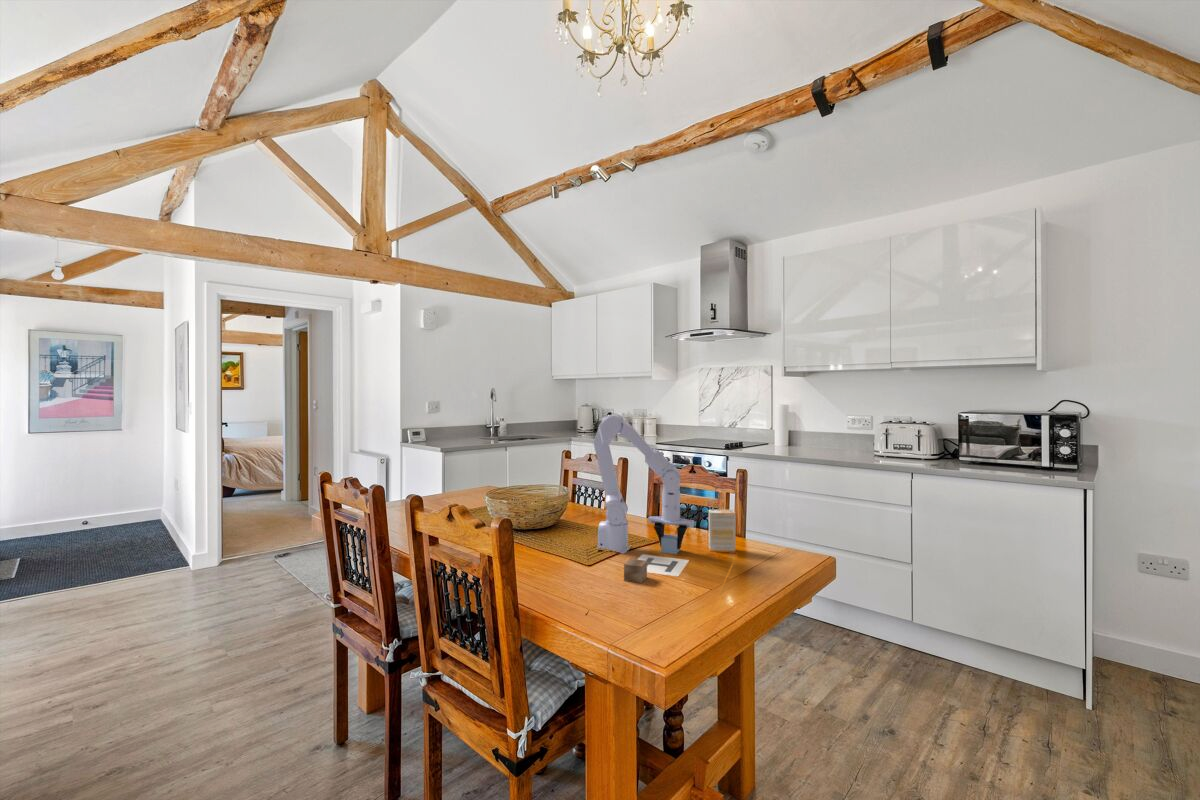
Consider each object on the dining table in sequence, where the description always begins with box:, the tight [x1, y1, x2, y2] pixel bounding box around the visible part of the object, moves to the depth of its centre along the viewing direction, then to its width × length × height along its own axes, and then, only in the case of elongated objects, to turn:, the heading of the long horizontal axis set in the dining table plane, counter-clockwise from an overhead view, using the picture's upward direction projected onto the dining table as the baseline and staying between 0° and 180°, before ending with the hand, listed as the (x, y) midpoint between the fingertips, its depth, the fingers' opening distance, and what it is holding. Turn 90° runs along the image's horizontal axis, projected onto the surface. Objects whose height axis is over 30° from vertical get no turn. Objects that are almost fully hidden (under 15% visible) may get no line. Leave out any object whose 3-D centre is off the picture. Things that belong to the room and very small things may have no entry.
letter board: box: [636, 553, 690, 577], centre depth 163 cm, size 15×15×1 cm
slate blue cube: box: [660, 533, 681, 555], centre depth 176 cm, size 5×5×5 cm
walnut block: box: [623, 558, 648, 584], centre depth 151 cm, size 5×5×5 cm
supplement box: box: [708, 509, 737, 554], centre depth 177 cm, size 8×5×13 cm, turn 84°
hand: (670, 547), depth 176 cm, fingers closed on slate blue cube, 5 cm apart
